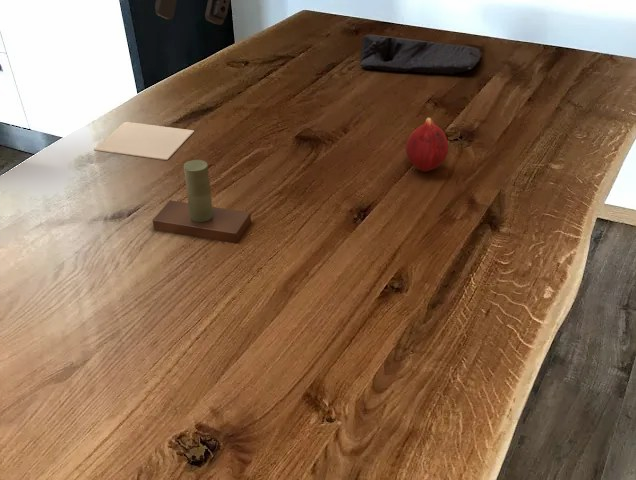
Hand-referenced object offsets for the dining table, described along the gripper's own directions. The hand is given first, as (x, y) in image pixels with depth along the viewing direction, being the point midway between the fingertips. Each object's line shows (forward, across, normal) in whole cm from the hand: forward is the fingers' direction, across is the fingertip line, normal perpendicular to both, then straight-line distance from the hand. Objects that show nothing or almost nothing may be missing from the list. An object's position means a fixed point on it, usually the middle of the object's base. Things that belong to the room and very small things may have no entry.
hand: (188, 19), depth 82 cm
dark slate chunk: (-12, -10, +64) cm, 66 cm away
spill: (+14, -25, +17) cm, 33 cm away
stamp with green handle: (+24, +1, +8) cm, 25 cm away
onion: (+9, +14, +36) cm, 40 cm away
